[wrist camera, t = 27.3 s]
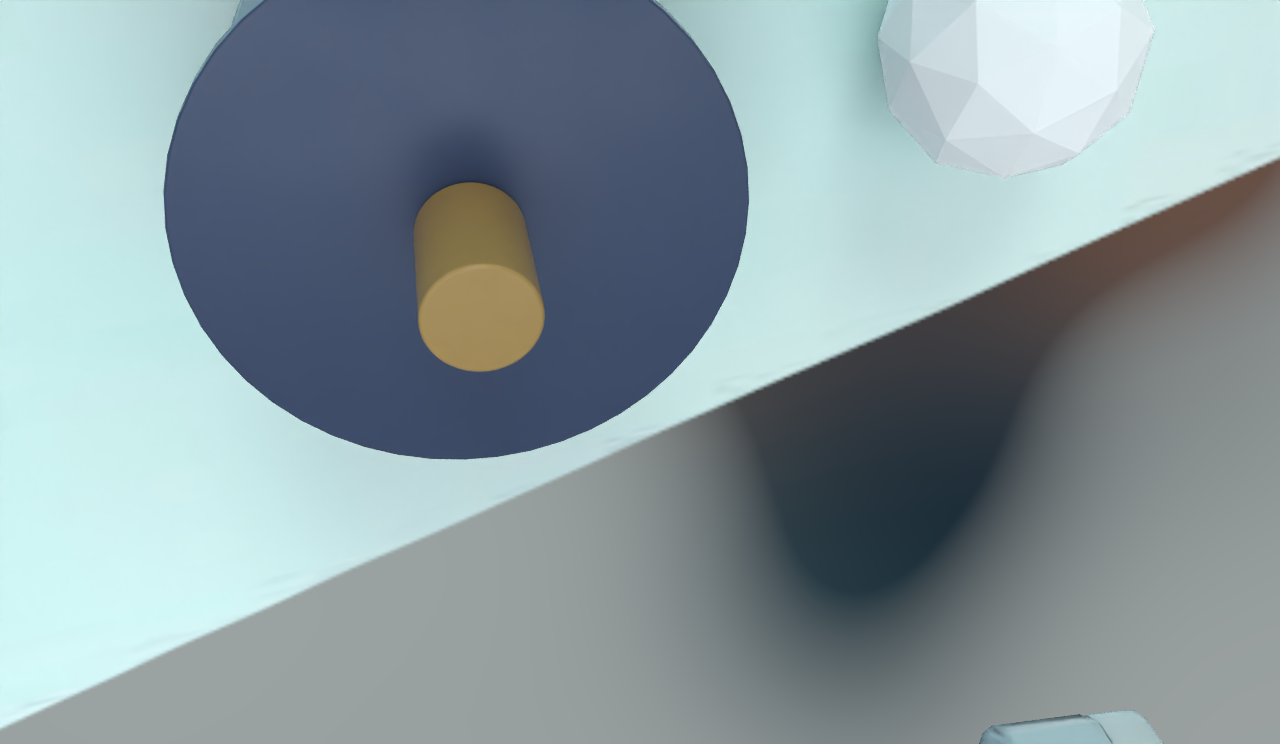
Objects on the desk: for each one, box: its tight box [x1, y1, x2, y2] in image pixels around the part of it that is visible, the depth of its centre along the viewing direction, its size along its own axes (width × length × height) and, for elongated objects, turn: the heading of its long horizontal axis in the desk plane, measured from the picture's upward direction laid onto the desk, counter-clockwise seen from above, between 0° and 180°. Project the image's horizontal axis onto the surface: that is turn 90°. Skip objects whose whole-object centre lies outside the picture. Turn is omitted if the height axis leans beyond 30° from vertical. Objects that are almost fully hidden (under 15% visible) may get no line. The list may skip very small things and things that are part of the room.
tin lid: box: [164, 0, 749, 459], centre depth 26 cm, size 13×13×5 cm
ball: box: [877, 0, 1155, 178], centre depth 35 cm, size 8×8×8 cm
